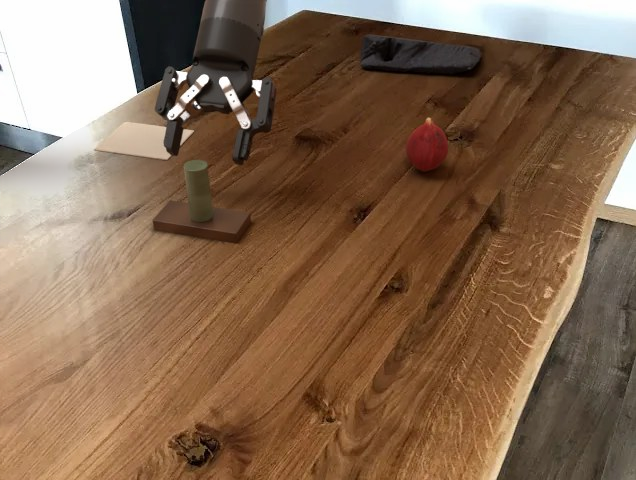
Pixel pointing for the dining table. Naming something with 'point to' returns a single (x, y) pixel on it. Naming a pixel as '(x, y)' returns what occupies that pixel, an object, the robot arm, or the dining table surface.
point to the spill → (139, 141)
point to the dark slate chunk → (416, 55)
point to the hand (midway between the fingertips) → (204, 158)
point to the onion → (427, 146)
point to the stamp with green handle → (201, 211)
